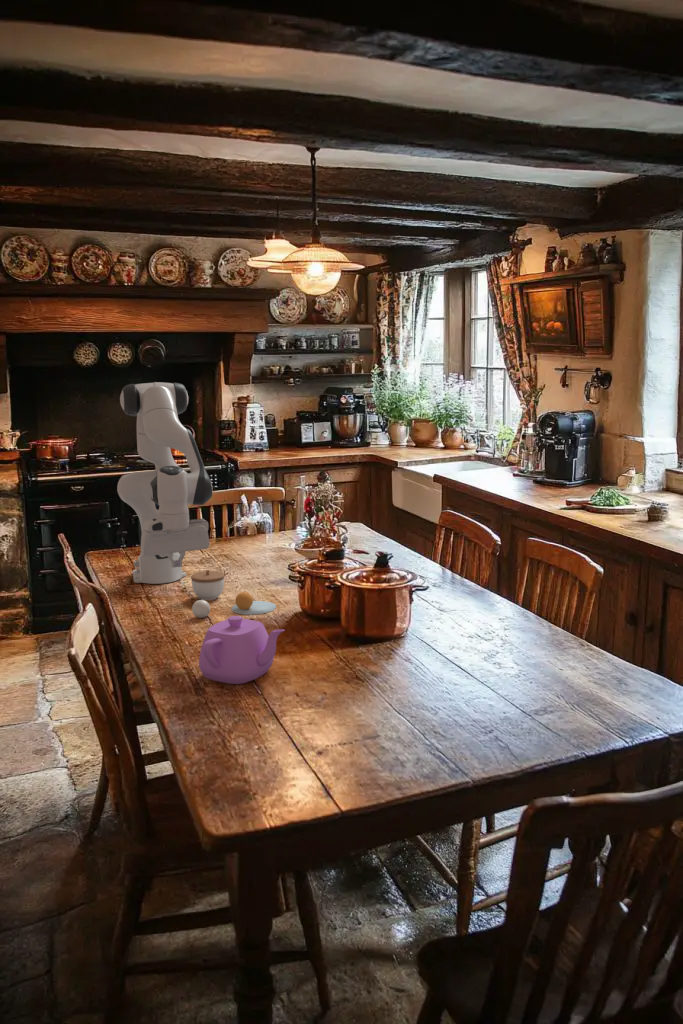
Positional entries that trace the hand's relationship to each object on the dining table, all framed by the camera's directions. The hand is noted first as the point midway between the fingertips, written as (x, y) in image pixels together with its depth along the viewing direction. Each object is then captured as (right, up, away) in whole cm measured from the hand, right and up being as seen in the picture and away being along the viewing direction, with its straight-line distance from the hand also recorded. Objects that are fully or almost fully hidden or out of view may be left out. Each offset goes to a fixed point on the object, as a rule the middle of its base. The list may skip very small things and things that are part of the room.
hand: (176, 566), depth 257 cm
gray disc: (+22, -14, +14) cm, 29 cm away
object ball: (+19, -12, +12) cm, 25 cm away
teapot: (+24, -25, -41) cm, 54 cm away
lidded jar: (+6, -12, +26) cm, 29 cm away
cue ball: (+7, -13, +4) cm, 15 cm away
